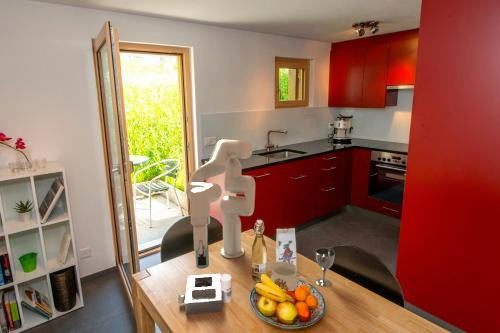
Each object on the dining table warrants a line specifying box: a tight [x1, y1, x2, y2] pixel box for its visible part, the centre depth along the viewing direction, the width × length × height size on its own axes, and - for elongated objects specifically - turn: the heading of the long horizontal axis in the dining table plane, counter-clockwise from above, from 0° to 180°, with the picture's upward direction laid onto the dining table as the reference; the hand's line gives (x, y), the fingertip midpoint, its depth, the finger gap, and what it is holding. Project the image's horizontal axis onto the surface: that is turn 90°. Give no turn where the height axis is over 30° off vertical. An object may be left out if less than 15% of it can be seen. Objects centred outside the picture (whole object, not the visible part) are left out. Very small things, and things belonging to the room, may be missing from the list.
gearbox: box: [178, 273, 223, 315], centre depth 129 cm, size 18×17×8 cm
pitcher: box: [265, 261, 309, 291], centre depth 128 cm, size 11×18×14 cm, turn 67°
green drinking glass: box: [194, 242, 210, 270], centre depth 125 cm, size 5×5×10 cm
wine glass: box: [315, 247, 336, 288], centre depth 138 cm, size 8×8×15 cm
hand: (202, 260), depth 126 cm, fingers closed on green drinking glass, 5 cm apart
